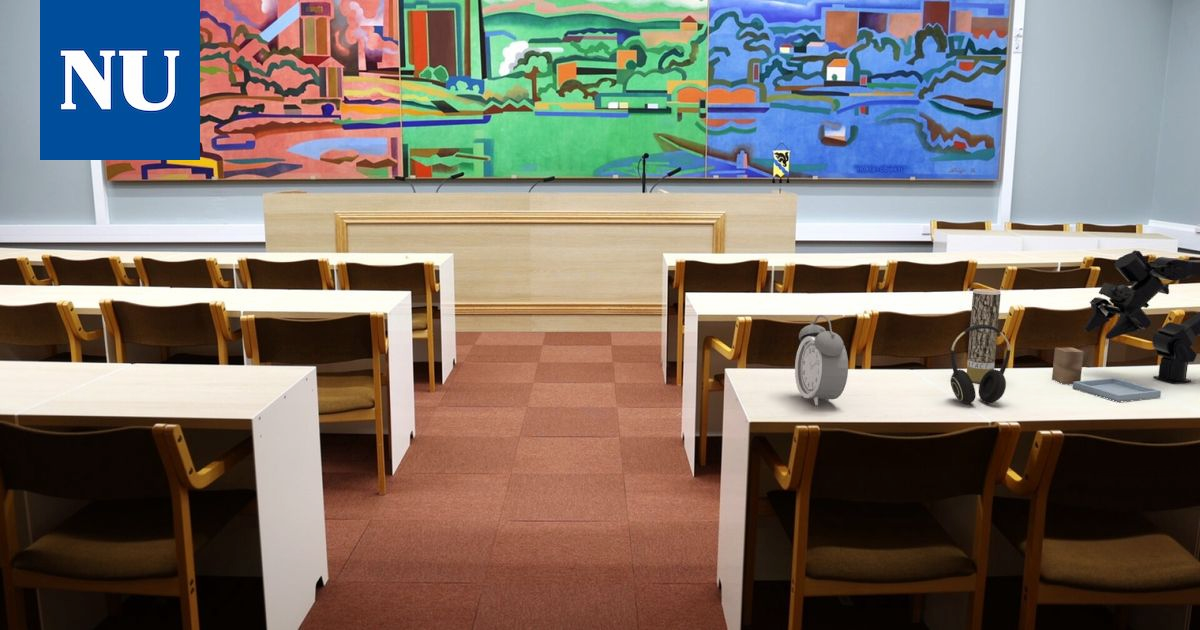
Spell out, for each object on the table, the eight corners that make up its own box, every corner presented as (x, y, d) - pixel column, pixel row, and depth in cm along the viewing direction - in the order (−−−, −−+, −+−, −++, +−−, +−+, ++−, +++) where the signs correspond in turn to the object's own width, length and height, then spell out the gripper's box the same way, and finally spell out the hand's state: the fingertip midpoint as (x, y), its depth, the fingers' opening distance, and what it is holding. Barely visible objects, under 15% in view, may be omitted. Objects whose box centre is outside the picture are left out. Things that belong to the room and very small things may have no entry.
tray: (1112, 384, 236) (1113, 377, 236) (1160, 397, 223) (1160, 390, 223) (1072, 388, 232) (1073, 381, 231) (1118, 402, 219) (1119, 395, 218)
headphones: (940, 398, 222) (945, 321, 219) (997, 397, 223) (1004, 321, 219) (954, 407, 214) (960, 327, 210) (1013, 407, 214) (1021, 327, 210)
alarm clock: (790, 393, 226) (794, 310, 222) (822, 392, 228) (826, 309, 223) (815, 411, 210) (820, 322, 206) (849, 410, 212) (854, 321, 208)
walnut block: (1069, 379, 241) (1072, 347, 239) (1080, 384, 236) (1083, 351, 234) (1051, 379, 241) (1055, 347, 239) (1062, 384, 236) (1065, 351, 234)
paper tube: (972, 376, 244) (980, 288, 239) (997, 381, 239) (1005, 291, 234) (961, 380, 239) (968, 290, 235) (986, 385, 234) (994, 293, 230)
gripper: (1100, 268, 243) (1057, 307, 244) (1145, 278, 224) (1099, 320, 226) (1124, 296, 245) (1082, 335, 246) (1170, 307, 226) (1125, 349, 228)
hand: (1095, 334), depth 236 cm, fingers open, 9 cm apart
